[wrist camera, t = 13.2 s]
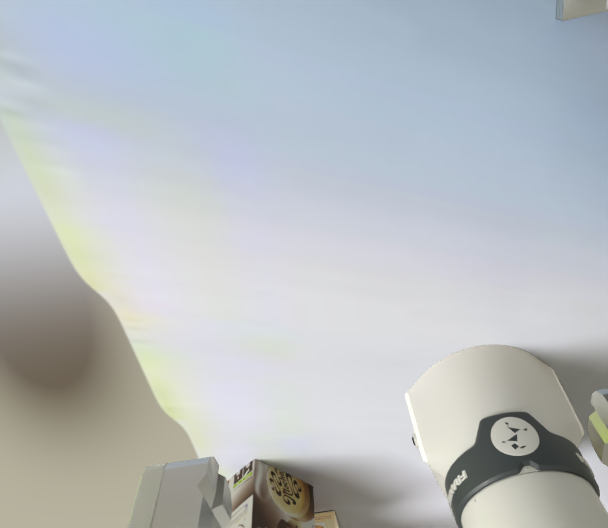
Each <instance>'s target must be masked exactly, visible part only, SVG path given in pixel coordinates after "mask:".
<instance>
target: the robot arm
mask: <svg viewBox="0 0 608 528" xmlns="http://www.w3.org/2000/svg"><path fill="white" fill-rule="evenodd" d="M405 398H406V401H407V405H408V409H409V412H410V416H411V420H412V423H413V427H414V430H415V434H413V437H412V440H413V443H414V445H416V447H417V448H418V447H419V449H420V452H421V456H422V459H423V461H424V462H427V463H428V464H429V466H430V469H431V471H432V473H433V475H434V477H435V478H436V480H437V482H438V484H439V486H440V488H441V490H442V491H443V493H444V495H445V497H446V498H447V500H448V501H449V502H448V503H449V506H450V509H451V512H452V515H453V517H454V519H455V520H456V523H457V525H458V527H459V528H608V513H607V511H606V510H605V508H604V506H603V504H602V502H601V501H600V499H599V497H600V491H599V487H598V485H597V483H596V481H595V479H594V474H593V472H592V470H591V468H590V466H589V464H588V463H587V461H586V460H585V459H584V458H583V456H582V454H581V453H580V451H579V449H578V447H579V446H580V444H581V440H582V437H583V436H584V430H583V427H582V425H581V423H580V421H579V419H578V417H577V415H576V413H575V411H574V409H573V407H572V405H571V403H570V401H569V399H568V397H567V395H566V393H565V391H564V389H563V387H562V385H561V384H560V382H559V380H558V378H557V376H556V374H555V372H554V370H553V368H550V367H549V366H548V365H546V364H545V363H543V362H542V361H540V360H539V359H537V358H536V357H535V356H533V355H531V354H530V353H528V352H526V351H523V350H521V349H518V348H515V347H511V346H505V345H482V346H476V347H471V348H467V349H464V350H461V351H458V352H455V353H453V354H451V355H449V356H447V357H445V358H443V359H442V360H440V361H439V362H437V363H436V364H434V365H433V366H432V367H431V368H430V369H428V370H427V371H426V372H425V373H424V374H423V375H422V376H421V377H420V378H419V380H418V381H417V382H416V383H415V384H414V385H413V387H412V388H411V389H410V390H409V391H408V392H407V393H406V394H405ZM591 404H592V406H593V408H594V409H595V411H594V412H593V413H592V414H591V415H590V416H589V418H588V431H589V436H590V441H591V443H592V445H593V448H594V450H595V452H596V454H597V455H598V457H599V459H600V461H601V462H602V463H603V464H605V465H607V466H608V388H607V389H601V390H596V391H594V393H593V394H592V397H591ZM218 469H219V465H218V463H217V461H216V459H215V458H214V457H207V458H200V459H194V460H187V461H180V462H173V463H166V464H160V465H154V466H148V467H146V469H145V470H144V472H143V473H142V475H141V479H140V483H139V487H138V490H137V494H136V498H135V502H134V506H133V510H132V513H131V517H130V521H129V525H128V528H226V527H227V526H228V524H229V523H230V521H231V514H232V501H231V492H230V488H229V484H228V482H227V480H226V478H225V477H224V476H222V475H220V474H218Z"/></svg>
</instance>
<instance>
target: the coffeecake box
mask: <svg viewBox="0 0 608 528" xmlns="http://www.w3.org/2000/svg"><path fill="white" fill-rule="evenodd" d="M314 516H315V528H339V525H338V522H337V518H336V515H335V511H328V512H322V513H314Z"/></svg>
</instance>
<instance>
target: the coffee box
mask: <svg viewBox="0 0 608 528" xmlns="http://www.w3.org/2000/svg"><path fill="white" fill-rule="evenodd" d="M227 482H228V484H229V488H230V492H231V501H232V514H231V521H230V523H229V524H228V526H227V527H226V528H315V516H314V499H313V487H312V486H311V485H309V484H307V483H305V482H303V481H301V480H299V479H297V478H295V477H293V476H291V475H289V474H287V473H285V472H282V471H280V470H278V469H276V468H274V467H272V466H269V465H267V464H265V463H263V462H260V461H258V460H256V459H254V460H253V461H251V462H250V463H249V464H247V465H246V466H245V467H244V468H242V469H241V470H240V471H239V472H237V473H236V474H235V475H234V476H233V477H232V478H231V479H229V480H228V481H227Z"/></svg>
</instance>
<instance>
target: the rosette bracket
mask: <svg viewBox="0 0 608 528" xmlns="http://www.w3.org/2000/svg"><path fill="white" fill-rule="evenodd" d="M603 11H608V0H557V6H556V19H558V20H561V21H565V20H569V19H574V18H578V17H582V16H586V15H591V14H595V13H599V12H603Z"/></svg>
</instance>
